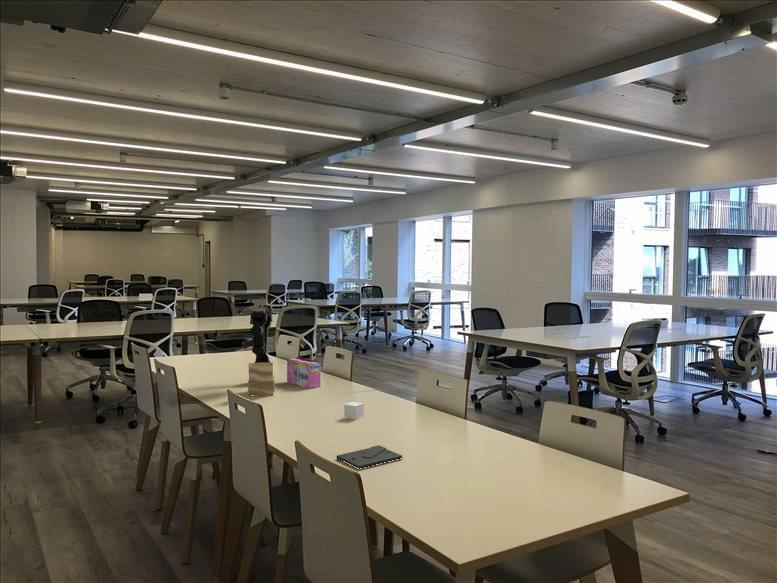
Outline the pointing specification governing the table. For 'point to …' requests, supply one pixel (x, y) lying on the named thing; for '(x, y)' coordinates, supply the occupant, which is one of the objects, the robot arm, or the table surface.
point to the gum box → (304, 372)
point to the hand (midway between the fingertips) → (258, 363)
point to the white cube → (353, 410)
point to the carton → (261, 387)
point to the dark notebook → (369, 456)
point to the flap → (260, 372)
